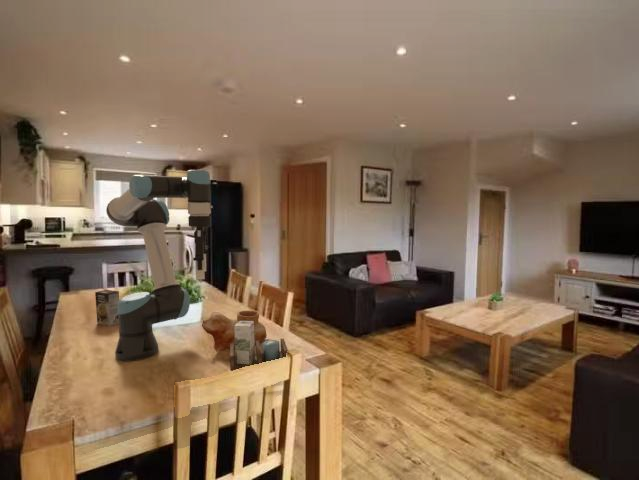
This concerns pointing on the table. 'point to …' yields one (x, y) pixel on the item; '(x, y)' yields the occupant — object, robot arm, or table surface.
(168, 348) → the table surface
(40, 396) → the table surface
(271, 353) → the grey-blue rounded cube
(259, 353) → the slot rack
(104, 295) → the coffee box
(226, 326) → the ceramic vessel
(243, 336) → the syrup box
